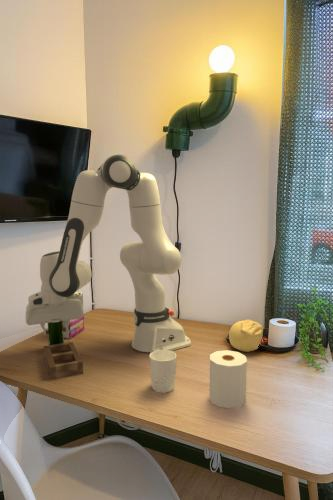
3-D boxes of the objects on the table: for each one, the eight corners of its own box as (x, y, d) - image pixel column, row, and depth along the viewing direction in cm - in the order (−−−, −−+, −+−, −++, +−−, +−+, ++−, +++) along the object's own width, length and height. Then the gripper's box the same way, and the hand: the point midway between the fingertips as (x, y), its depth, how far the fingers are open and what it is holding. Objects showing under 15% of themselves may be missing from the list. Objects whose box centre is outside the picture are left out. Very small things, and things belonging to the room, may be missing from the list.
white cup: (167, 396, 108) (167, 363, 107) (144, 389, 112) (144, 357, 111) (181, 384, 115) (181, 353, 113) (159, 378, 119) (159, 347, 118)
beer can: (51, 352, 138) (49, 320, 136) (47, 347, 143) (45, 316, 141) (66, 349, 141) (64, 318, 139) (61, 344, 146) (59, 314, 144)
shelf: (73, 352, 138) (72, 341, 138) (83, 373, 122) (82, 361, 122) (44, 357, 135) (43, 346, 134) (50, 379, 118) (50, 367, 118)
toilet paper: (221, 412, 101) (222, 368, 99) (202, 393, 110) (202, 353, 108) (253, 403, 105) (254, 361, 103) (232, 386, 114) (233, 347, 112)
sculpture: (253, 357, 134) (254, 328, 132) (223, 349, 141) (224, 321, 139) (266, 347, 143) (268, 319, 141) (237, 339, 150) (238, 313, 148)
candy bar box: (74, 328, 163) (72, 290, 160) (84, 329, 161) (83, 291, 159) (59, 337, 152) (57, 297, 150) (69, 339, 151) (68, 298, 148)
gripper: (81, 291, 146) (82, 326, 148) (23, 297, 138) (26, 333, 140) (84, 295, 140) (85, 331, 142) (25, 301, 132) (27, 339, 134)
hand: (55, 332), depth 141 cm, fingers closed on beer can, 5 cm apart
